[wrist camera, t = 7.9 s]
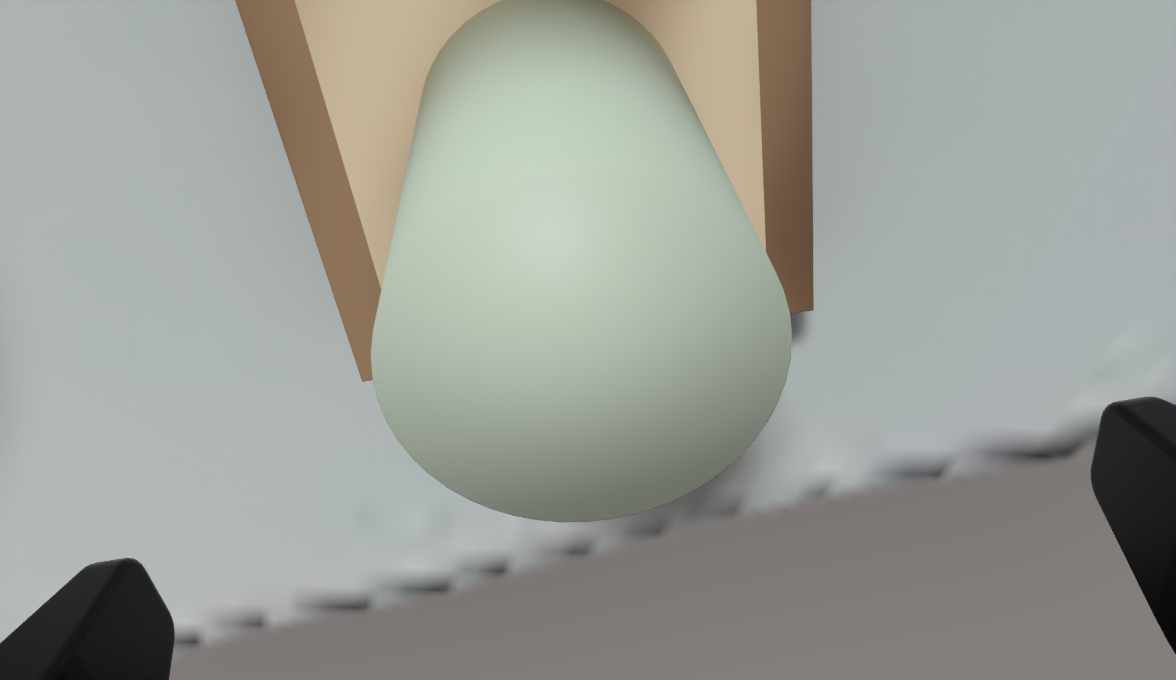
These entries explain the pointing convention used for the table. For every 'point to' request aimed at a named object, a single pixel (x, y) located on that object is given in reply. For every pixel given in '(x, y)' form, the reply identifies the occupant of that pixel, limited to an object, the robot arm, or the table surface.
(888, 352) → the table surface
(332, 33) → the plinth
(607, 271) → the sage capsule
